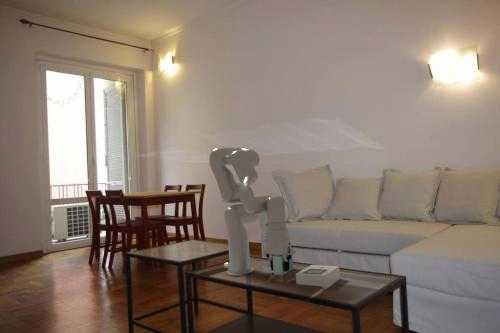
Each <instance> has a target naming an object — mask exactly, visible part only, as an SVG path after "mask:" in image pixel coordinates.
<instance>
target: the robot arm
mask: <svg viewBox="0 0 500 333" xmlns="http://www.w3.org/2000/svg"><path fill="white" fill-rule="evenodd" d="M208 160H209V166H210V170H211V172H212V174H213V176H214V177H215V178H214V179H215V180H216V183H217V187H218V190H219V193H220V196H221V199H222V201H223V202H224V203H225V204H227V205H230V206H228V207H226V209H225V210H224V213H223V216H224V220H225V221H224V222H225V225H226V230H227V231H226V232H227V243H228V244H227V245H228V256H229V262H225V263H224V264H223V268H226V269H227V271H226V274H227V275H228V276H232V277H233V276H234V277H236V276H237V277H239V276H240V277H241V276H244V275H247V274H249V273H251V272H254V271H255V269H254V268H253V267H251V259H250V244H249V234H248V230H247V228H246V227H245V226H244V225H249V224H254V223H256V222H258V221H259V219H260V215H265V214H266V216H267V217H266V219H267V223H265V227H266V228H267V229H266V231H265V242H264V243H265V244H264V246H265V248H264V249H263V250H262V254H263V255H265V257H266V258H267V259H268V261H269V263H270V264H269V267H270V270H271V271H272V272H274V270H273V256H274V255H283V257H284V260H285V262H284V271H285V272H286V271H288V270H289V268H290V266H289V260H290V259H291V258H292V259H293V256H295V255H296V254H297V252H296V250H295V249H294V248H293V247H292V244H291V243H292V242H291V237H290V233H289V230H288V229H287V219H286V208H285V207H286V206H285V198H284V197H283V196H282V195H281V196H278V195H277V196H272V195H261V196H260V195H259V196H255V194H254V190H253V189H252V187H251V186H252V185H253V184H254V183H256V182H257V180H259V172H257V169H256V168H257V166H259V164H260V161H261V160H260V154H259V153H258V152H257V151H256V150H254V149H248V148H243V147H218V148H214V149H212V150H211V152H210V155H209V159H208ZM227 166H232V168H233V171H235V173H236V175H237V177H238V179H239V181H240V183H238V182H236V179H235V177H234V174H233V172H232V171H231V170H230V169H229V168H228V167H227ZM290 252H291V254H290V255H289V254H288V253H290Z"/></svg>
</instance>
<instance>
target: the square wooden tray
mask: <svg viewBox="0 0 500 333" xmlns="http://www.w3.org/2000/svg"><path fill="white" fill-rule="evenodd" d="M295 280H296V277H293V273H292V271H289V272H287V274H285V275H283V276H282V275H274V272H272V273H270V274H268V279H267V280H266V282H268V283H282V284H288V283H291V282H292V281H295Z"/></svg>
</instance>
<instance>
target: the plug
mask: <svg viewBox="0 0 500 333" xmlns="http://www.w3.org/2000/svg"><path fill="white" fill-rule="evenodd" d="M284 262H285V260H284V257H283V255H274V256H273V273H274V275H282V276H283V275H285V274H287V271H286V272H285V271H284Z"/></svg>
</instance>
